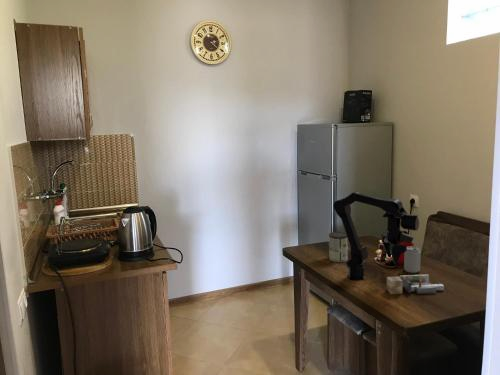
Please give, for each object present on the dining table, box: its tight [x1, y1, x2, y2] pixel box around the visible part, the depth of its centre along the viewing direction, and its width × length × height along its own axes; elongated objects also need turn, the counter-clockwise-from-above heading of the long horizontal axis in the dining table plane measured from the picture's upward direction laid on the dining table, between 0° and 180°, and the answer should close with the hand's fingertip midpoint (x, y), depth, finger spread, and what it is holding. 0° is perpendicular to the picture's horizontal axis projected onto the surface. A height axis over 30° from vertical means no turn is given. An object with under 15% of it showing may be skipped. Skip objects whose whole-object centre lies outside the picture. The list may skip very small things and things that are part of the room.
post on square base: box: [403, 279, 445, 294], centre depth 180 cm, size 16×5×5 cm, turn 91°
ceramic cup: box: [397, 241, 415, 265], centre depth 219 cm, size 13×17×10 cm
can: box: [403, 246, 421, 274], centre depth 203 cm, size 8×8×12 cm
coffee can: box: [328, 231, 349, 263], centre depth 224 cm, size 10×10×14 cm
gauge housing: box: [399, 274, 437, 295], centre depth 181 cm, size 13×9×5 cm
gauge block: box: [386, 276, 403, 295], centre depth 180 cm, size 5×5×6 cm
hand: (392, 260), depth 185 cm, fingers open, 9 cm apart
